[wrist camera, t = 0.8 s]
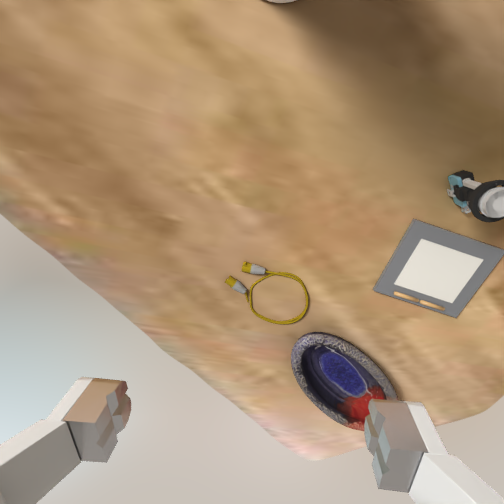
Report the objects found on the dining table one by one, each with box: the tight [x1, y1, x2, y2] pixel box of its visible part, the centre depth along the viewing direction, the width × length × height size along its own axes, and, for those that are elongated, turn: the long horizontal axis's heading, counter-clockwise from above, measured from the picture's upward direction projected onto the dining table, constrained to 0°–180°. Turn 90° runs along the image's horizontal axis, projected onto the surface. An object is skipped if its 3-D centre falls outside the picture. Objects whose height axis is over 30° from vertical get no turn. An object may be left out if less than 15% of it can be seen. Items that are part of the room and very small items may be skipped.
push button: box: [447, 170, 504, 222], centre depth 41 cm, size 7×5×10 cm
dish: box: [291, 332, 398, 431], centre depth 61 cm, size 16×31×5 cm, turn 39°
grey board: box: [373, 219, 504, 318], centre depth 51 cm, size 14×16×1 cm
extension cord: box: [225, 261, 308, 324], centre depth 55 cm, size 12×16×2 cm
